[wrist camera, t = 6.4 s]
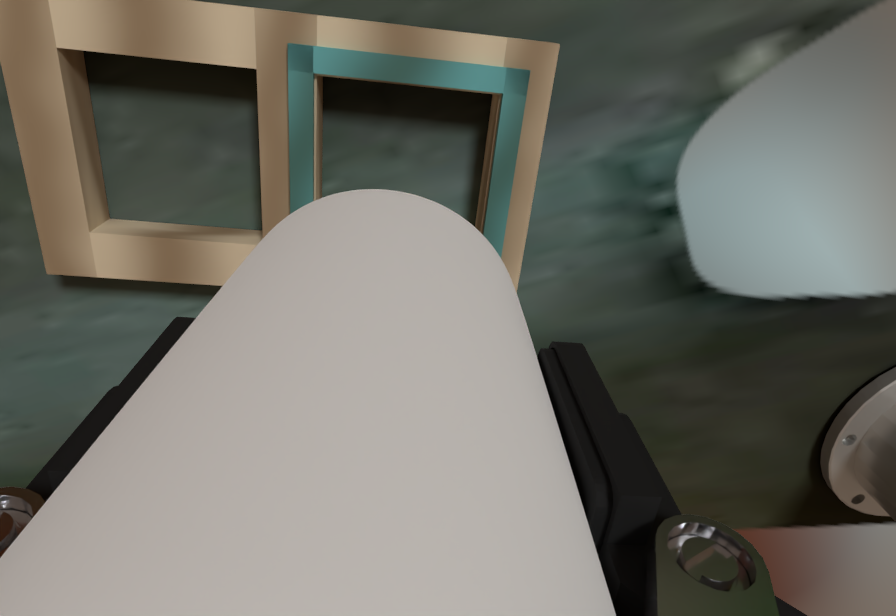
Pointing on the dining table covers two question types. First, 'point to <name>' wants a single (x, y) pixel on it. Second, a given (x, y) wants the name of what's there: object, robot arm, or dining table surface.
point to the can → (329, 445)
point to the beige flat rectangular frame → (279, 116)
